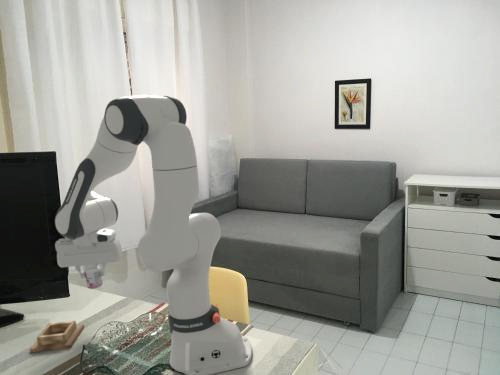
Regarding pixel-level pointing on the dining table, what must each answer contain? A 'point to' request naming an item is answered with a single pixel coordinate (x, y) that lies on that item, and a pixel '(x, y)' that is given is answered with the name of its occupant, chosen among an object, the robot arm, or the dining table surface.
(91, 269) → the pill bottle
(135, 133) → the robot arm
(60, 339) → the brown square wooden holder
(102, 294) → the dining table surface
